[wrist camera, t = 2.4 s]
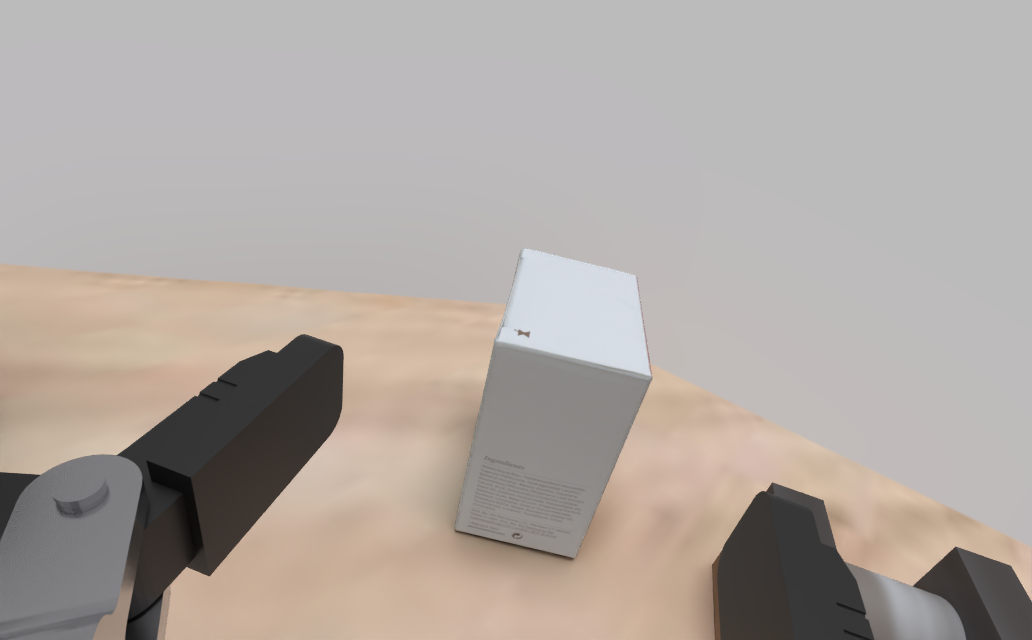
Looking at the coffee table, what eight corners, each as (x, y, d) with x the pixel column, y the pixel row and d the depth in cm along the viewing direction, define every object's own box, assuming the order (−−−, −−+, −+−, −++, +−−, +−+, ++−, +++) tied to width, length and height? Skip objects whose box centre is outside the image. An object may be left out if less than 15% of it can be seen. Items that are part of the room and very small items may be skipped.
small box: (574, 563, 23) (657, 381, 18) (450, 533, 24) (492, 340, 18) (580, 434, 30) (641, 272, 25) (483, 411, 30) (522, 243, 25)
